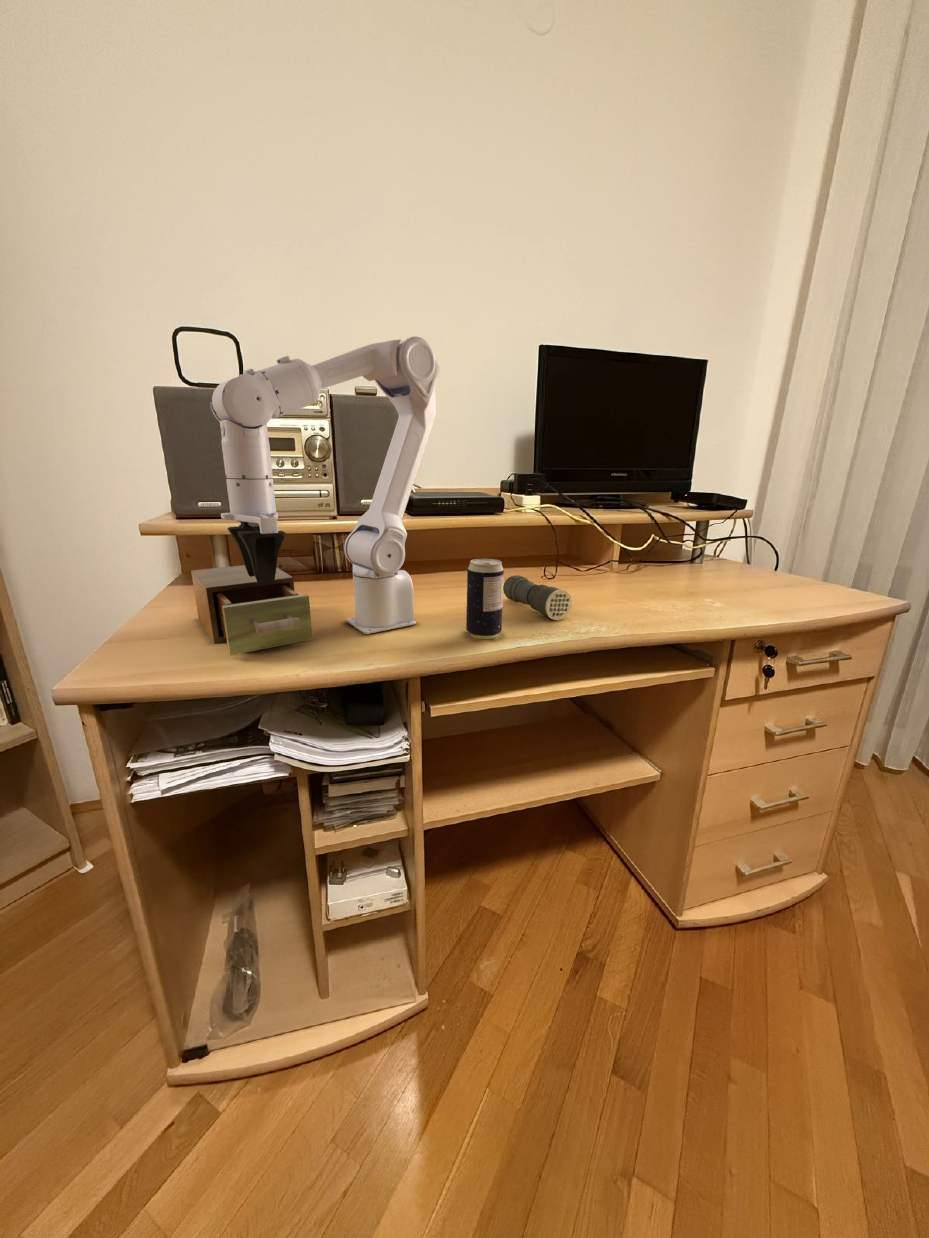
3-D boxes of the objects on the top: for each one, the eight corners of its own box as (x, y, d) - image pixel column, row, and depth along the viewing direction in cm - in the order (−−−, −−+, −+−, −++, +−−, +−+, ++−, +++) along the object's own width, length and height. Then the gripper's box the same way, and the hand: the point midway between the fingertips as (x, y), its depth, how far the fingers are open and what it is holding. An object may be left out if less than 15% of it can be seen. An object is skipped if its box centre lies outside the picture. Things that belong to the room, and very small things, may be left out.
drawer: (324, 649, 70) (320, 603, 67) (238, 666, 63) (231, 616, 61) (286, 617, 83) (283, 578, 81) (212, 630, 76) (206, 587, 74)
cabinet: (298, 628, 80) (293, 577, 78) (214, 643, 73) (205, 587, 71) (274, 608, 91) (269, 562, 88) (198, 619, 84) (190, 570, 81)
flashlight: (499, 600, 99) (500, 574, 97) (522, 597, 101) (523, 571, 99) (546, 621, 86) (548, 592, 84) (570, 617, 88) (572, 588, 87)
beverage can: (499, 629, 82) (502, 558, 78) (503, 641, 76) (506, 565, 73) (465, 628, 82) (466, 557, 78) (466, 640, 76) (468, 565, 72)
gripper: (206, 476, 68) (219, 572, 72) (229, 481, 57) (243, 594, 61) (259, 476, 72) (269, 567, 76) (290, 480, 61) (299, 586, 65)
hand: (261, 578), depth 69 cm, fingers open, 4 cm apart
